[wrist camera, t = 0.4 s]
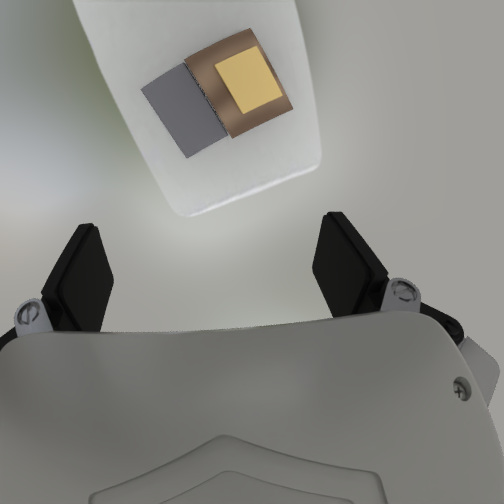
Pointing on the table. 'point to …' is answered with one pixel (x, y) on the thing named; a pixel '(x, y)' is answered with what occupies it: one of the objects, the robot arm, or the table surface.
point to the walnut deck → (219, 92)
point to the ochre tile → (248, 79)
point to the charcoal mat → (184, 110)
